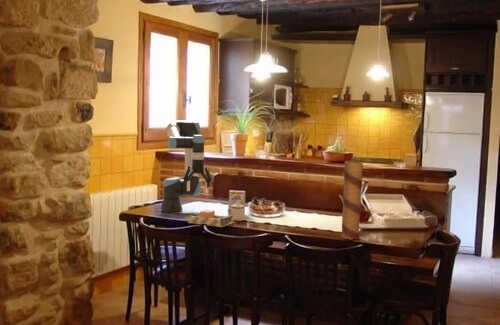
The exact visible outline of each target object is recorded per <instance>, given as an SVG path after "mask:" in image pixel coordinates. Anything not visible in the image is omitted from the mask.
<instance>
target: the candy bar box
mask: <svg viewBox="0 0 500 325" xmlns="http://www.w3.org/2000/svg"><path fill="white" fill-rule="evenodd" d="M236 202H239V204H241V205H244V215H245V214H246V213H245V212H246V211H245V210H246V190H232V189H231V190H229V191H228V206H227V207H228V208H231V205H234V204H236ZM228 208H227V209H228ZM229 212H230V214H231V209H229ZM227 213H228V212H227ZM227 216H229V213H228V215H227Z"/></svg>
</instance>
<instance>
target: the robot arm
mask: <svg viewBox="0 0 500 325" xmlns="http://www.w3.org/2000/svg"><path fill="white" fill-rule="evenodd" d="M165 132H166V136H167V137H168V139H167V146H168V147H167V148H169V149H175V150H176V149H177V150H178V149H184V175H183V176H182V179H181V177H179V176H178V177H177V176H175V177H167V178H165V179H164V180H163V185H162V186H163V196H162V197H163V198H162V199H163V200H162V203H161V206H160V211H161V212H162V211H163V213H180V212H182V211H183V206H182V202H181V197H195V196H200V194H201V190H202V184H203V182H202V179H200V176H199V174H200V175H201V176H202V178H203V179H204V181H205V191H204V192H205V193H206V194H207V193H208V194H209V188H210V186H211V185H210V184H211V182H213V178H212V176H211V173H210V172H209V167H208V166H205V160H204V159H205V135H203V134H202V131H201V125H200V122H199V121H197V120H195V121H194V120H175V121H172V122H170V123H168V125H167V126H166V129H165ZM204 166H205V167H204Z"/></svg>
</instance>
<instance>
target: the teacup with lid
mask: <svg viewBox="0 0 500 325" xmlns="http://www.w3.org/2000/svg"><path fill="white" fill-rule="evenodd" d="M229 209H231V214H230V212H229ZM227 213H229V215H233V221H236V222H237V221H244V220H245V214H244V205H241V204H239V202H236V204H234V205H231V208H227ZM229 215H228V216H229Z"/></svg>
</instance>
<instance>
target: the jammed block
mask: <svg viewBox="0 0 500 325" xmlns="http://www.w3.org/2000/svg"><path fill="white" fill-rule="evenodd" d="M199 213H200V217H206V218H214V219H215V215H216V214H215V213H216V211H215V210H210V209H204V210H201V211H199Z"/></svg>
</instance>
